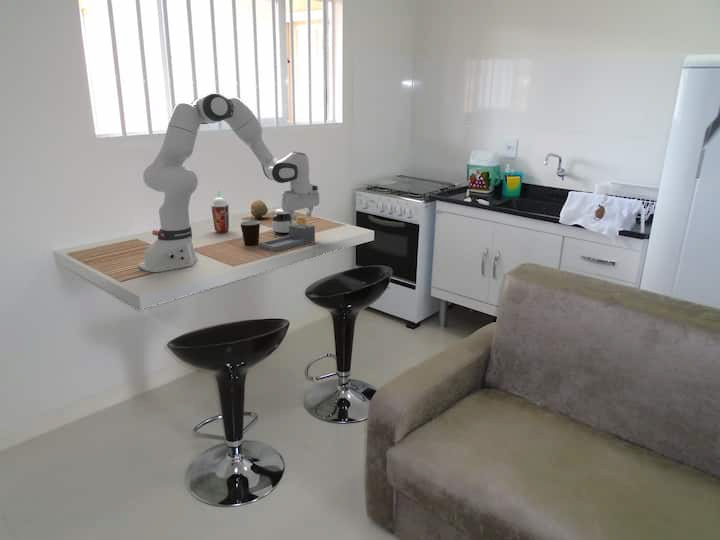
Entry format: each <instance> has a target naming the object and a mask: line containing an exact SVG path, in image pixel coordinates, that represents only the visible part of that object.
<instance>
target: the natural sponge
mask: <svg viewBox="0 0 720 540" xmlns="http://www.w3.org/2000/svg"><path fill="white" fill-rule="evenodd" d="M268 211H269V208H268V206H267V205H266V203H265V202H264V201H263V200H260V199H259V200H255V201H253V202H252V203H251V205H250V213H251V216H252V217H253V218H254V217H255V218H256V219H261V218H262V217H264V216H266V214H268Z"/></svg>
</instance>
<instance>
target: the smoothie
mask: <svg viewBox="0 0 720 540" xmlns="http://www.w3.org/2000/svg"><path fill="white" fill-rule="evenodd" d="M217 193H218V194H217V196H216V197H215V198H214V199H213V200H212V202H211V204H210V206H211V207H210V208H211V214H212V219H213V227H214V230H215V232H216V233H217V234H223V233H228V232H229V229H230V223H229V221H230V219H229V218H230V217H229V215H230V213H229V212H230V211H229V210H230V209H229V203H228V201H227V200H226V199H225V198H224V197H222V196H221V194H220V191H217Z"/></svg>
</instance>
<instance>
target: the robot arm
mask: <svg viewBox="0 0 720 540" xmlns="http://www.w3.org/2000/svg"><path fill="white" fill-rule="evenodd" d="M222 121H224V122H225V123H226V124H227V125H228V126H229V128H230V129H231V130H232V131H233V133H234V134H235V135H236V136H237V137H238V138H239V139H240V140H241V141H242V143H244V144H245V145H247V146H248V147H249V148H250V150H251V151H252V152H253V154H254V155H255V156H256V158H257V159H258V161H259V162H260V164H261V167H262V171H263V173H264V174H263V175H264V176H265V177H266V178H267V179H269V180H270V181H273V182H276V183H278V184H285V183H289V185H290V190H285V191H284V192H283V193H282V200H281V209H282V210H283V211H285V212H289V214H290V215H291V220H293V221H297V216H296V215H295V214H294V213H295V211H299V210H304V209H308V210H307V212H306V217H308V218H309V217H312V213H313V210H314V207H317V206H319V205H320V192H319V186H318V185H316V184H312V183H310V182H311V180H310V176H309V175H310V162H309V158H308V155H307V154H306V153H303V152H300V151H290V153H289V154H288V155H287V156H285V157H283V158H281V159H279V158H278V157H276V156H275V155H274V154H273V153H272V152H271V151H270V149H269V148H268V146H267V144H265V141H264V140H263V138H262V135H263V126H261V123H260V121H259V119H258V118H257V117H256V115H255V114H254V113H253V111H252V110H251V109H250V108H249V106H248V105H246V104H245V102H244V101H243V100H241V99H240V98H239V97H237V96H231V97H226V96H224V95H222V94H221V93H215V92H213V93H209V94H205V95H201V96H200V97H197V98H196V99H194V100H193V101H192V102H191V103H189V102H180V103H177V104H176V105H175V107H174V108H173V111H172V114H171V116H170V118H169V121H168V125H167V129H166V133H165V137H164V140H163V143H162V146H161V148H160V150H159V152H158V154H157V156H156V157H155V159H154V160H153V161H152V163H151V164H150V165H149V166H147V167H146V168H145V169H144V171H143V175H142V177H143V182H144V184H145V185H146V187H148V188H149V189H151V190H153V191H155V192H158V193H164V200H163V204H162V205H161V206H160V207H159V209H158V215H159V222H160V224H159V225H160V229H159V230H156V229H153V230H152V235H153V236H154V237H155V236H156V237H157V239H156V240H155V241H154V242H153V243H152V244H151V245H150V246H148V248H147V249H145V252H144V261H142V262H139V264H138V266H139V268H140V270H143V271H146V272H150V273H160V272H166V271H171V270H176V269H182V268H187V267H193V266H194V264H195V263H196V262H197V261H198V257H197V255H196V252H195V248H194V245H193V240H192V239H193V232H192V226H190V225H191V223H190V213H189V206H190V200H191V196H192V194H193V193H194V192H195V191H196V190H197V187H198V184H199V181H198V177H197V174H196V173H195V172H194V171H193V170H192V169H189V168H187V167H185V166H183V164H184V162H185V161H186V160H188V159H189V158H190V157H191V156H192V155H193V151H194V149H195V144H196V140H197V137H198V132H199V131H198V130H199V128H200V126H201V125H209V124H211V125H212V124H217V123H219V122H222Z"/></svg>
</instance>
